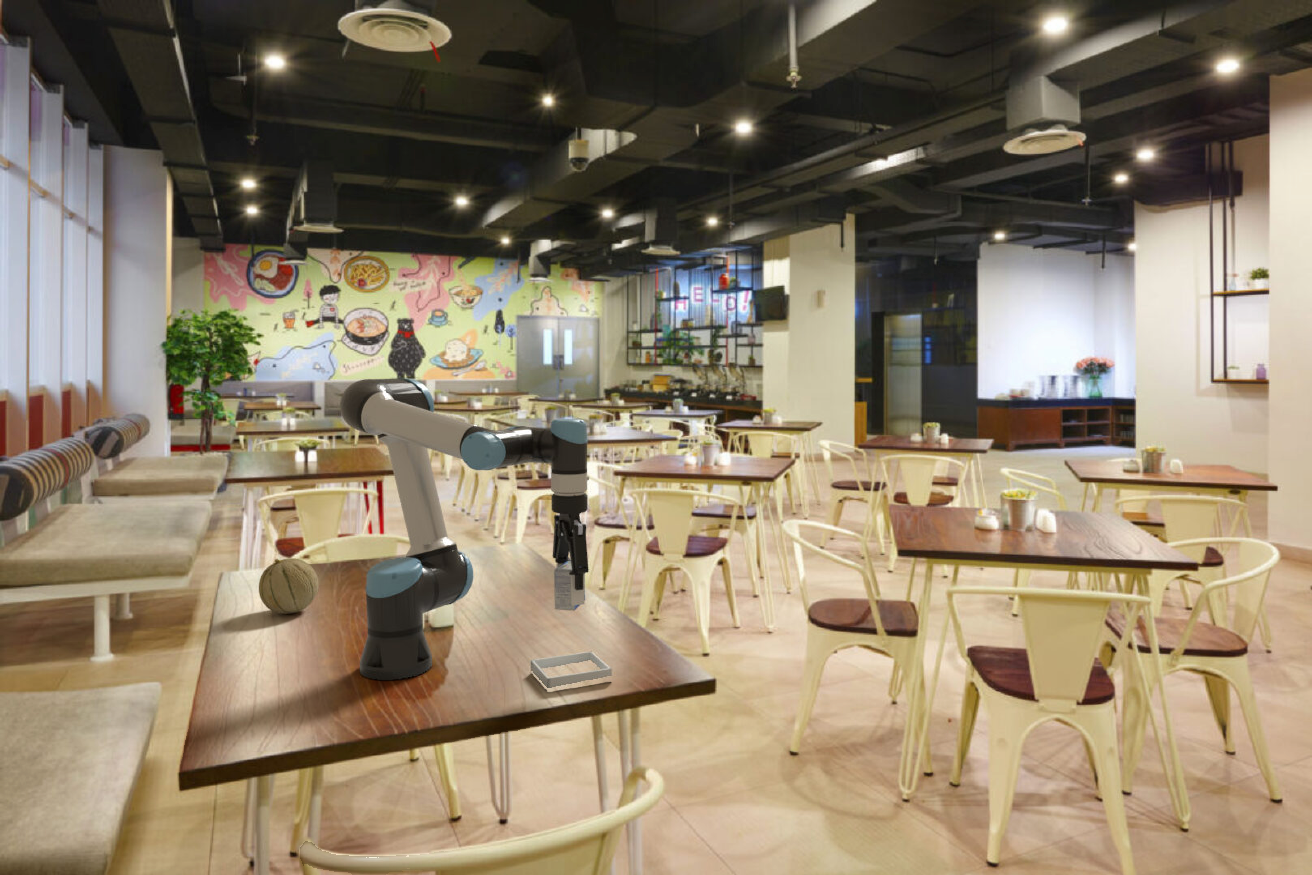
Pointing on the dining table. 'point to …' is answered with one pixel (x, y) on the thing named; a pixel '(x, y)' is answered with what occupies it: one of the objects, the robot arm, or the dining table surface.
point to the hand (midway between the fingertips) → (570, 598)
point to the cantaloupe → (288, 586)
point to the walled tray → (570, 678)
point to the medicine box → (564, 587)
